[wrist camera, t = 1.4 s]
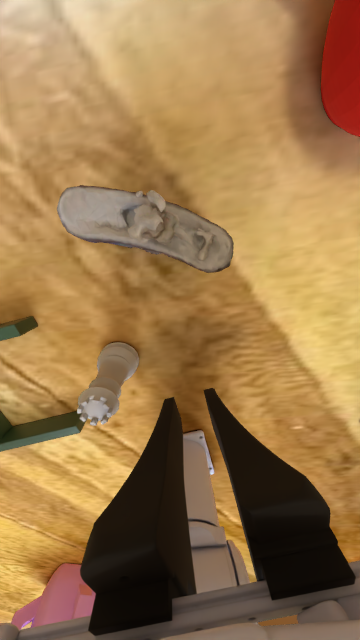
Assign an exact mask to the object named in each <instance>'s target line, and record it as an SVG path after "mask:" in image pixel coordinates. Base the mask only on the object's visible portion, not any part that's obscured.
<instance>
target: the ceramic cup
mask: <svg viewBox="0 0 360 640" xmlns="http://www.w3.org/2000/svg"><path fill="white" fill-rule="evenodd" d="M321 96H322V102H323V106H324V110H325V112H326V114H327V116H328V117H329V119H330V120H331V121H332V122H333V123H334V124H335V125H337V126H338V127H340V128H342V129H344V130H345V131H347V132H348V133H350V134H352V135H355V136H359V137H360V0H335V2H334V6H333V9H332V12H331V16H330V20H329V24H328V29H327V34H326V40H325V45H324V51H323V59H322V78H321Z"/></svg>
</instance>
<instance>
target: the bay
mask: <svg viewBox="0 0 360 640" xmlns="http://www.w3.org/2000/svg"><path fill="white" fill-rule="evenodd" d="M37 326H38V325H37V323H36V321H35V320H34V318H33V316H30V317H27V318H23V319H19V320H15V321H11V322H7V323H3V324H0V341H2V340H6V339H10V338H14V337H18V336H21V335H23V334H25V333H26V332H28V331H30V330H32V329H34V328H36V327H37ZM81 414H82V413H77V411H76V412H72V413H67V414H63V415H59V416H55V417H51V418H47V419H43V420H38V421H34V422H30V423H26V424H22V425H18V426H12V425H11V424H10V423H9V421H8V420H7V419H6V418H5V416H4V415H3V414H2V412H1V411H0V452H1V451H5V450H9V449H13V448H18V447H22V446H26V445H30V444H35V443H39V442H43V441H47V440H51V439H56V438H60V437H64V436H68V435H73V434H77V433H80V432H81V430H82V428H83V426H84V424H85V422H86V421H85V422H83V421H82V420H81V419H80V416H81ZM86 420H87V419H86Z"/></svg>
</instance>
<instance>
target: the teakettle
mask: <svg viewBox="0 0 360 640" xmlns="http://www.w3.org/2000/svg"><path fill="white" fill-rule="evenodd" d="M80 568H81V565H79V564H69V563H64V564H62V565H60V566H59V567H58V569H57V570H56V571H55V572H54V574H53V575H52V577H51V579H50V580H49V582H48V584H47V586H46V588H45V589H44V591H43V594H42V596H40V597H38V598H37V599H35V600H34V601H32V602H31V603H29V604H27V605H26V606H24V607H23V608H21V609H20V610H18V611H16V612H15V614H14V616H13V619H12V621H11V624H14V625H15V626H17V627H18V628H19V630H21V628H22V627H24V626H25V625H27V624H28V623H30V622H31V621H32V625H31V628H32V627H37V626H42V625H46V624H51V623H56V622H61V621H66V620H71V619H76V618H81V617H86V616H91V614H92V609H93V605H94V600H95V595H96V593H95V592H94V591H93V590H92V589H91V588H90V587H89V586H88V585H87V584H86V583H85V582H84V581H83V580H82V578H81V576H80Z"/></svg>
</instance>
